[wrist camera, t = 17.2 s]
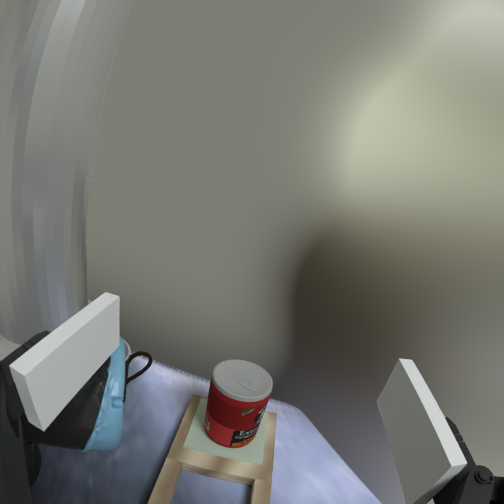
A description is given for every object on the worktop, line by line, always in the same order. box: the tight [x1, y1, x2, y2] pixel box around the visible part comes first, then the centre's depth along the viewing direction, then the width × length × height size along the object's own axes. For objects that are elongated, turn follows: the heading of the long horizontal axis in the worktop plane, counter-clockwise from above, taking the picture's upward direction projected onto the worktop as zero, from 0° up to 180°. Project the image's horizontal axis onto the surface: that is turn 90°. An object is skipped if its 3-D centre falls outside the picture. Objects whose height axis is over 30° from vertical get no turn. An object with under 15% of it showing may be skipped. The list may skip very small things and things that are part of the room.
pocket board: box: [147, 394, 277, 504], centre depth 32 cm, size 14×26×2 cm, turn 174°
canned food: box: [204, 360, 273, 448], centre depth 37 cm, size 8×8×11 cm
